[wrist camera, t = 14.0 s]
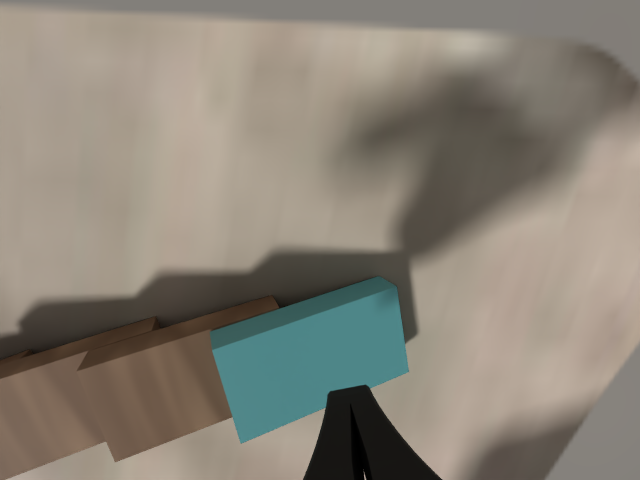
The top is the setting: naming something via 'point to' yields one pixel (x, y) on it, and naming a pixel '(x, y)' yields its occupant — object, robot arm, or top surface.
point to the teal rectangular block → (309, 354)
